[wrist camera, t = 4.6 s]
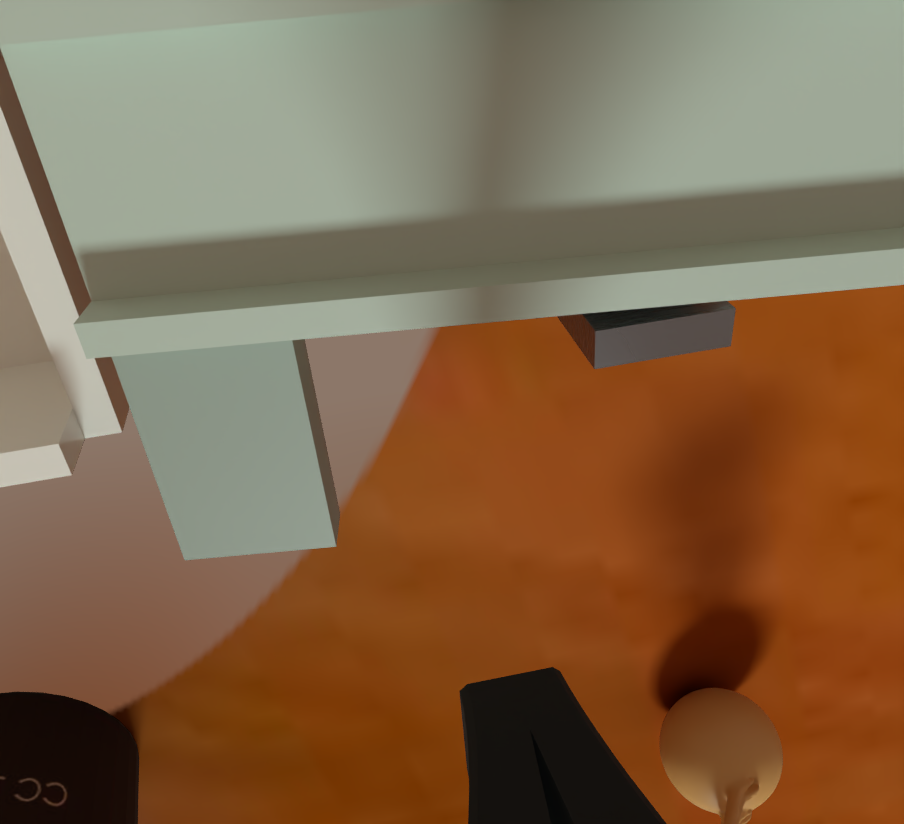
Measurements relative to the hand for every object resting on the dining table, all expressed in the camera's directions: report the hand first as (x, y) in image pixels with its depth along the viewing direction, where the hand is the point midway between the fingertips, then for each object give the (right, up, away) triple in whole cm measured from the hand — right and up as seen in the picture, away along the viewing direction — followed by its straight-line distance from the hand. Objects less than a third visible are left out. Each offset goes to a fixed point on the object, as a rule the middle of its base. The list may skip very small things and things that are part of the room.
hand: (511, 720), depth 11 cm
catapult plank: (+2, +7, +2) cm, 8 cm away
